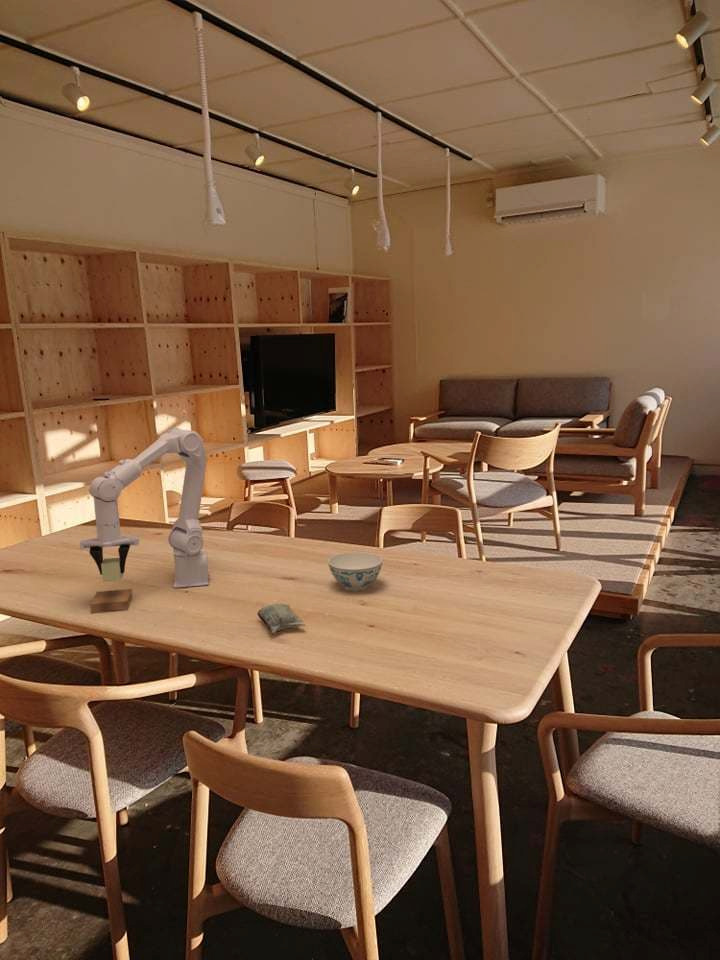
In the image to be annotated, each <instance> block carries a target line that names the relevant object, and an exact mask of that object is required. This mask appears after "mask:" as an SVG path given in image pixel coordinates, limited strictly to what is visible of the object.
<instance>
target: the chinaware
mask: <svg viewBox="0 0 720 960" xmlns="http://www.w3.org/2000/svg"><path fill="white" fill-rule="evenodd" d="M327 564H328V567H329V570H330V574H331V575H332V576H333V578H334V579H335V580H336V581H337V582H338V583H340V585H342V586H343V588H344V589H345V590H347V589H348V590H347V591H350V590H354V591H353V592H359V591H358V590H361V591H364V590H366V589H368V588H367V587H369V585H370V584H371V583H373V582H374V581H375V580H376V579H377V577H378V576H379V574H380V572H381V569H382V566H383V558H382V557H381V556H380V555H378V554H375V553H372V552H365V551H350V552H349V551H348V552H342V553H338V554H335V555H332V556H331V557H330V558H328V560H327ZM363 589H364V590H363Z"/></svg>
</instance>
